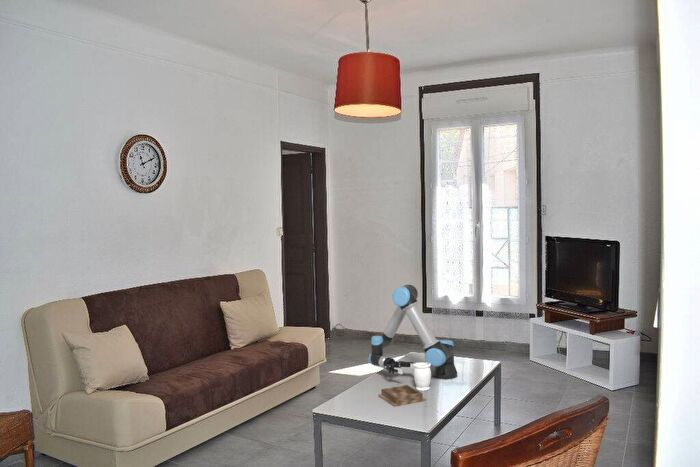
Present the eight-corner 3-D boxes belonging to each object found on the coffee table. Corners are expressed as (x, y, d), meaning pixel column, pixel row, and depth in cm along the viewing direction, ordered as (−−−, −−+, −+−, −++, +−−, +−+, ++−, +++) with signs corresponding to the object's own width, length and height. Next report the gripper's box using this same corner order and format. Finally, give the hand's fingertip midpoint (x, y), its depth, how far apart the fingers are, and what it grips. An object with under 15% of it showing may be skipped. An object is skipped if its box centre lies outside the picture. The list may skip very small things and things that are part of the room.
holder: (408, 390, 324) (408, 383, 324) (426, 400, 306) (425, 393, 306) (378, 396, 317) (378, 389, 317) (394, 406, 298) (393, 399, 298)
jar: (429, 392, 320) (428, 366, 320) (412, 390, 324) (411, 365, 324) (433, 386, 330) (432, 362, 330) (416, 385, 334) (415, 361, 334)
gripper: (401, 365, 359) (424, 371, 342) (372, 372, 344) (395, 380, 327) (401, 353, 359) (424, 360, 342) (372, 360, 344) (394, 367, 327)
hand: (410, 369), depth 335 cm, fingers open, 13 cm apart
